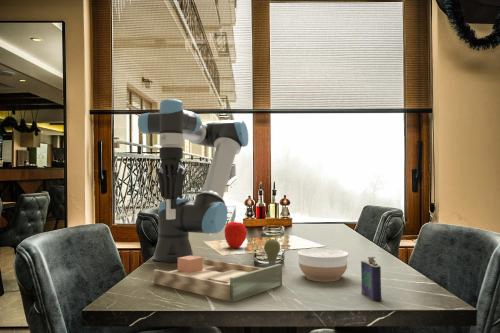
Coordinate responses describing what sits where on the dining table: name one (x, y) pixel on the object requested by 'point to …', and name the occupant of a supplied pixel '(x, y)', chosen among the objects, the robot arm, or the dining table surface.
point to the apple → (235, 234)
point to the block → (190, 264)
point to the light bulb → (272, 250)
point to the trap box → (223, 280)
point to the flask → (371, 279)
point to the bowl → (323, 264)
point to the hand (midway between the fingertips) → (170, 219)
